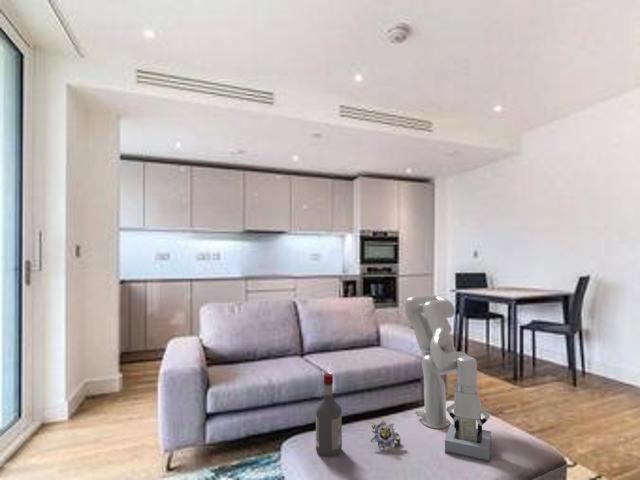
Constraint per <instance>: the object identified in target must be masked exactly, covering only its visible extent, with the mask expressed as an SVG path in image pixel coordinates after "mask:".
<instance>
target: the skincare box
mask: <svg viewBox="0 0 640 480" xmlns="http://www.w3.org/2000/svg"><path fill="white" fill-rule="evenodd" d="M458 427H459V440H464V441H469V442H474V443H477V432H476V429H477V420H473V419H467V418H463V417H458Z"/></svg>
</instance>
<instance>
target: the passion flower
mask: <svg viewBox="0 0 640 480" xmlns="http://www.w3.org/2000/svg"><path fill="white" fill-rule="evenodd" d="M394 427H395V423H390V424H387V422H386V420H385V419H381V423H378V424H375V423H374V424H373V425H371V428H372V430H371V432H372V433H373V434H375V435H374V437H372V438H371V440H370V442H371V443H376V442H377V445H378V448H379V449H381V448H383V451H385V452H386V451H388V448H389V446H390V448H395V441H396V442H397V444H398V446H400V445H401V443H402V442H401V436H400V435H399V430H398V429H395V428H394Z"/></svg>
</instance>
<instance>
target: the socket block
mask: <svg viewBox="0 0 640 480" xmlns="http://www.w3.org/2000/svg"><path fill="white" fill-rule="evenodd" d="M476 432H477V443H474V442H469V441H464V440H459V429H458V431H456V428H454V423H453V424H452V423H450V425H449V426H448V430H447V432H446V436H445V439H444V454H447V455H452V456H457V457H462V458H466V459H469V460H475V461H479V462H485V463H489V464H490V461H491V460H490V459H491V451H492V450H491V449H492V432H491V430H487V429H486V430H485V429H482V433H480V436H478V428H476ZM490 450H491V451H490Z"/></svg>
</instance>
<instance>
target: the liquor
mask: <svg viewBox="0 0 640 480" xmlns="http://www.w3.org/2000/svg"><path fill="white" fill-rule="evenodd" d="M333 385H334V374H333V373H325V374H323V387H324V389H323V391H324V392H323V393H324V394H323V396H324V397H323V400H322V401H321V402H320V404H319V405H317V407H316V410H315V451H316V452H317V454H318V455H319V456H324V457H329V458H333V457H337V456H338V455H339V453H340V451H341V450H342V443H343V439H342V437H343V435H342V434H343V433H342V432H343V431H342V428H343V427H342V421H343V420H342V419H343V418H342V407H341V405H340V404H339V403H338V402H337V401H336V400H335V399H334V394H333V393H334V391H333V390H334V389H333Z"/></svg>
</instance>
